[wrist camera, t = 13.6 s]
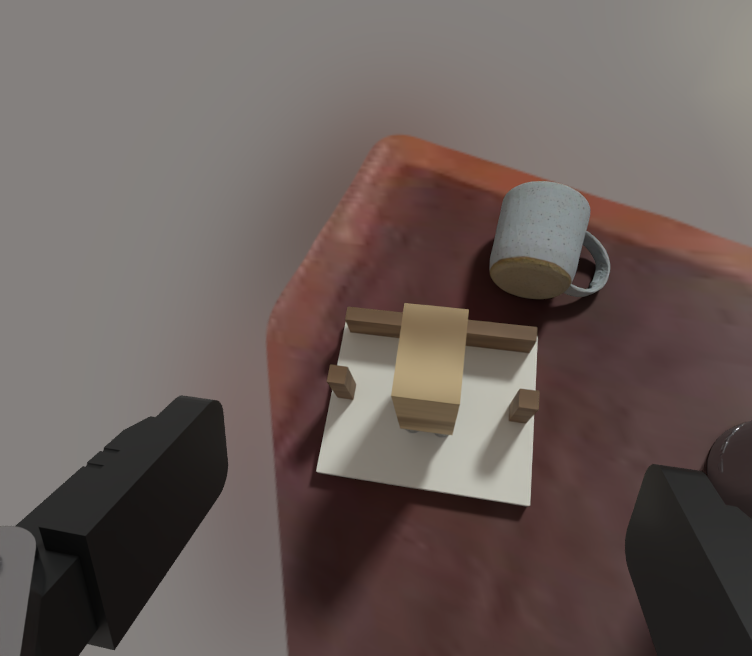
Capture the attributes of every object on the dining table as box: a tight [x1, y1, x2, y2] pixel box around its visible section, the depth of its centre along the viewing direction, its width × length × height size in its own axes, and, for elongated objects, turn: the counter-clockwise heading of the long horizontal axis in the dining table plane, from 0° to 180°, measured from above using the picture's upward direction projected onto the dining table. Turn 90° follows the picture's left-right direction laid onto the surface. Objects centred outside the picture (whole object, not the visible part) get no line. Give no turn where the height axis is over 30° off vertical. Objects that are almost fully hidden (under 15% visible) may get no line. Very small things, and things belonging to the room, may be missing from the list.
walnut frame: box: [327, 307, 539, 423], centre depth 41 cm, size 7×16×5 cm, turn 81°
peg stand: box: [316, 323, 538, 507], centre depth 42 cm, size 14×17×1 cm
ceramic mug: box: [489, 181, 610, 299], centre depth 43 cm, size 11×8×8 cm
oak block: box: [391, 303, 469, 435], centre depth 34 cm, size 6×4×10 cm, turn 171°
